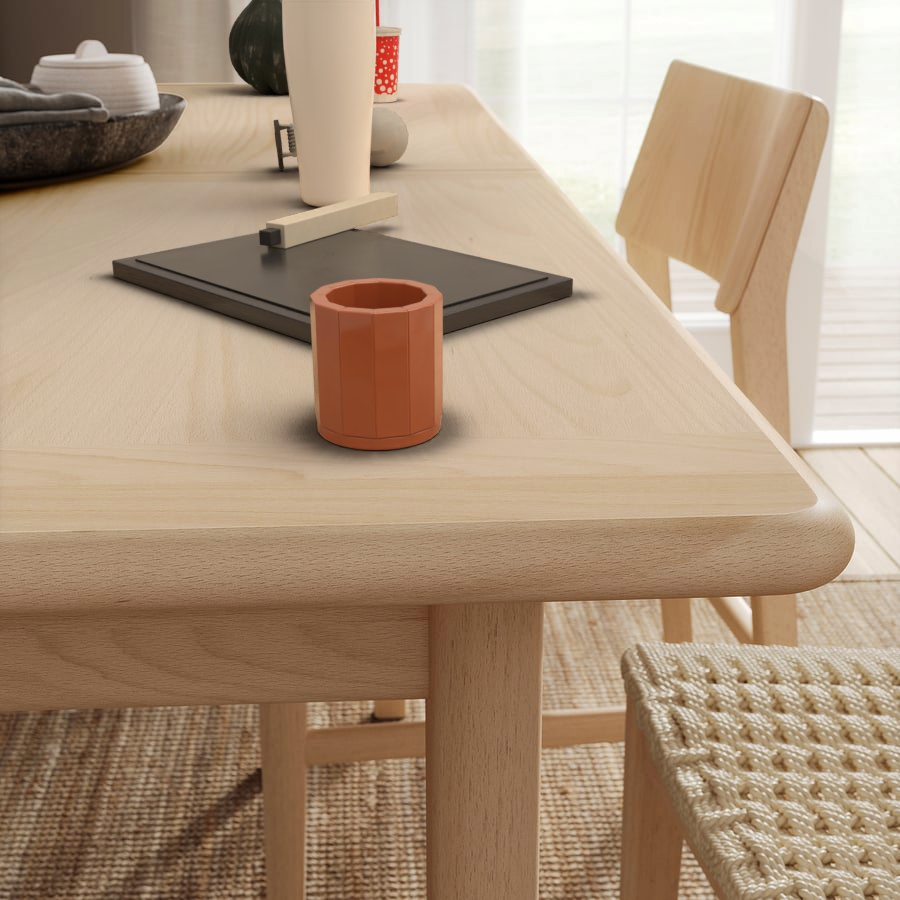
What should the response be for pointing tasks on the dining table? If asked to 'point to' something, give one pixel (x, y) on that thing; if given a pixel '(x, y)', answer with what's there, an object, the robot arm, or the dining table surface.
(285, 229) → the stylus
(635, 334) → the dining table surface
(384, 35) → the beverage cup
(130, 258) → the tablet
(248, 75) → the squash
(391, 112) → the clip-on lamp
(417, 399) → the pen pot
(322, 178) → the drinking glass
